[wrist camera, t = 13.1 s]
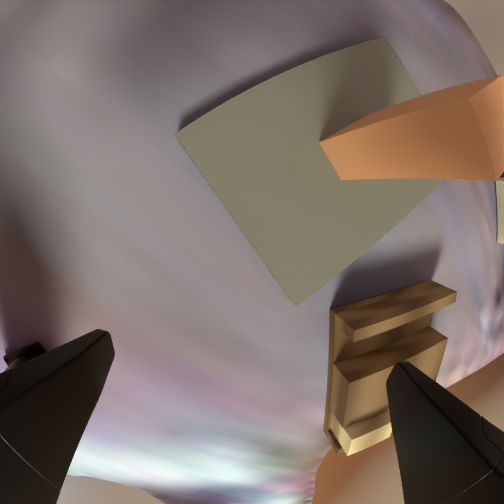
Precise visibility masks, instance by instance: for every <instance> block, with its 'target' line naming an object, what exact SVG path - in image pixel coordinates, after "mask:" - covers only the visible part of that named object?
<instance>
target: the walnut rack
mask: <svg viewBox="0 0 504 504" xmlns="http://www.w3.org/2000/svg"><path fill="white" fill-rule="evenodd" d="M456 295H457V292H456V291H454V290H452V289H450V288H447V287H445V286H443V285H440V284H438V283H436V282H434V281H431V280H427V281H424V282H421V283H418V284H415V285H412V286H409V287H406V288H403V289H399V290H396V291H393V292H390V293H386V294H383V295H379V296H376V297H372V298H369V299H365V300H362V301H358V302H354V303H351V304H347V305H343V306H339V307H335V308H331V309H330V333H329V364H328V382H327V397H326V410H325V421H324V432H325V434H326V436H327V437H328V439H329V441H330V443H331V444H332V446H333V448H334V449H335V451H336V453H337V454H339V453H342V452H345V451H344V450H343V448H342V446H341V445H340V443H339V441H338V440H337V438H336V436H335V435H334V433H333V432H332V430H331V428H330V426H331V418H332V413H333V414H334V416H335V417H336V419H337V420H338V422H339V423H340V425H341V426H342V428H344V427H346V426H349V425H351V424H354V423H356V422H359V421H361V420H364V419H366V418H368V417H371V416H373V415H375V414H377V413H379V412H382V411H384V410H386V409H388V408H389V405H388V398H387V390H386V381H387V378H388V376H389V374H390V373H391V371H392V369H393V367H394V365H395V364H396V363H397V362H399V361H408V362H410V363H411V364H413V365H414V366H415V367H417V368H418V369H419V370H421V371H422V372H423V373H425V374H426V375H427V376H429V377H430V378H431V379H433V380H434V381H436V378H437V375H438V372H439V368H440V365H441V362H442V358H443V355H444V351H445V347H446V344H447V340H448V338H447V337H446V336H444V335H442V334H441V333H439V332H438V331H436V330H434V329H433V328H431V327H430V321H431V315H432V312H434V311H437V310H439V309H441V308H443V307H445V306H447V305H450V304H452V303H454V302H455V301H456Z"/></svg>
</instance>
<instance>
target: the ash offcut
mask: <svg viewBox="0 0 504 504" xmlns="http://www.w3.org/2000/svg"><path fill="white" fill-rule="evenodd" d="M330 428H331V430H332V432H333V433H334V435H335V436H336V438H337V440H338V441H339V443H340V445H341V446H342V448H343V450H344V451H345V453H346V454H347V456H349V455H351V454H354V453H356V452H358V451H360V450H363V449H365V448H367V447H370V446H372V445H374V444H376V443H378V442H380V441H382V440H384V439H386V438H388V437H390V434H391V431H392V427H391V422H390V414H389V412H388V410H387V409H386V410H384V411H382V412H379V413H377V414H375V415H373V416H371V417H368V418H366V419H364V420H361V421H359V422H356V423H354V424H351V425H349V426H346V427H344V428H342V426H341V425H340V423H339V422H338V420H337V419H336V417H335V416H334V414H333V413H332V418H331V426H330Z"/></svg>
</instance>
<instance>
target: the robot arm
mask: <svg viewBox="0 0 504 504" xmlns="http://www.w3.org/2000/svg"><path fill="white" fill-rule="evenodd" d="M37 347H38V348H37ZM114 355H115V351H114V347H113V343H112V339H111V335H110V333H109V332H108V331H105V330H101V329H96V330H94V331H92V332H90V333H87V334H85V335H83V336H81V337H79V338H77V339H74V340H72V341H70V342H68V343H66V344H64V345H61V346H59V347H57V348H55V349H53V350H51V351H48V352H45V350H44V348H43V347H42V345H41V344H40V343H39V342H34V343H32V344H29V345H27V346H24V347H22V348H19V349H17V350H14V351H12V352H10V353H7V354H6V355H5V356H4V360H5V362H6V364H7V365H8V367H7V368H6V370H5V371H4V372H3V373H0V504H56V503H57V500H58V497H59V494H60V490H61V488H62V485H63V482H64V480H65V477H66V474H67V472H68V469H69V466H70V464H71V461H72V459H73V456H74V454H75V451H76V449H77V447H78V444H79V442H80V439H81V437H82V435H83V433H84V430H85V428H86V426H87V423H88V421H89V419H90V417H91V415H92V412H93V410H94V408H95V406H96V404H97V402H98V400H99V397H100V395H101V392H102V390H103V387H104V384H105V381H106V378H107V376H108V373H109V370H110V367H111V365H112V362H113V359H114ZM386 390H387V398H388V405H389V414H390V422H391V427H392V432H393V437H394V442H395V447H396V451H397V457H398V463H399V469H400V474H401V481H402V488H403V495H404V502H405V504H504V432H503V431H502V430H500V429H498V428H497V427H496V426H494V425H493V424H491V423H490V422H488V421H487V420H486V419H484V418H483V417H482V416H481V417H480V415H479V414H478V413H477V412H475V411H474V410H473V409H471V408H470V407H469V406H467V405H466V404H465V403H463V402H462V401H461V400H459V399H458V398H457V397H455V396H454V395H453V394H451V393H450V392H449V391H447V390H446V389H445V388H443V387H442V386H441V385H439V384H438V383H437V382H435V381H434V380H433V379H431V378H430V377H429V376H427V375H426V374H425V373H423V372H422V371H421V370H419V369H418V368H417V367H415V366H414V365H413V364H411V363H410V362H408V361H399V362H397V363H396V364H395V365H394V367H393V369H392V371H391V373H390V374H389V376H388V378H387V381H386Z"/></svg>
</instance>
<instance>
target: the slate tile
mask: <svg viewBox="0 0 504 504" xmlns="http://www.w3.org/2000/svg"><path fill="white" fill-rule="evenodd" d="M419 96H421V94H420V92H419V90H418V89H417V87H416V85H415V83H414V82H413V80H412V78H411V77H410V75H409V73H408V72H407V70H406V68H405V67H404V65H403V64H402V62H401V61H400V59H399V58H398V56H397V55H396V53H395V52H394V50H393V49H392V47H391V46H390V45H389V43H388V42H387V40H386V39H385V38H384V37H380V38H376V39H373V40H369V41H366V42H362V43H359V44H356V45H353V46H350V47H347V48H344V49H341V50H338V51H335V52H332V53H329V54H327V55H324V56H321V57H319V58H316V59H314V60H311V61H309V62H306V63H304V64H301V65H299V66H297V67H294V68H292V69H290V70H287V71H285V72H283V73H281V74H279V75H277V76H274V77H272V78H270V79H268V80H266V81H264V82H262V83H260V84H258V85H256V86H254V87H252V88H250V89H248V90H246V91H245V92H243V93H241V94H239V95H237V96H235V97H233V98H232V99H230V100H228V101H226V102H225V103H223V104H221V105H219V106H218V107H216V108H214V109H213V110H211V111H209V112H208V113H206V114H204V115H203V116H201V117H200V118H198V119H196V120H195V121H193V122H192V123H190V124H189V125H187V126H186V127H184V128H183V129H181V130H180V131H178V132H177V133H175V136H176V139H177V140H178V141H179V143H180V144H181V146H182V147H183V148H184V150H185V151H186V153H187V154H188V156H189V157H190V158H191V160H192V161H193V163H194V164H195V165H196V167H197V168H198V170H199V171H200V172H201V174H202V175H203V177H204V178H205V180H206V181H207V182H208V184H209V185H210V187H211V188H212V189H213V191H214V192H215V194H216V195H217V197H218V198H219V199H220V201H221V202H222V204H223V205H224V207H225V208H226V209H227V211H228V212H229V214H230V215H231V216H232V218H233V219H234V221H235V222H236V224H237V225H238V226H239V228H240V229H241V231H242V232H243V234H244V235H245V236H246V238H247V239H248V241H249V242H250V244H251V245H252V246H253V248H254V249H255V251H256V252H257V254H258V255H259V256H260V258H261V259H262V261H263V262H264V264H265V265H266V266H267V268H268V269H269V271H270V272H271V274H272V275H273V276H274V278H275V279H276V281H277V282H278V284H279V285H280V286H281V288H282V289H283V291H284V292H285V294H286V295H287V296H288V298H289V299H290V300H291V301H292V303H293V304H294V305H295V306H297V305H298V304H300V303H301V302H302V301H304V300H305V299H306V298H308V297H309V296H310V295H312V294H313V293H314V292H316V291H317V290H318V289H320V288H321V287H322V286H323V285H325V284H326V283H327V282H329V281H330V280H331V279H332V278H334V277H335V276H336V275H337V274H339V273H340V272H341V271H342V270H344V269H345V268H346V267H347V266H349V265H350V264H351V263H352V262H353V261H355V260H356V259H357V258H358V257H359V256H361V255H362V254H363V253H364V252H365V251H367V250H368V249H369V248H370V247H371V246H373V245H374V244H375V243H376V242H377V241H378V240H380V239H381V238H382V237H383V236H384V235H385V234H386V233H388V232H389V231H390V230H391V229H392V228H393V227H394V226H395V225H397V224H398V223H399V222H400V221H401V220H402V219H403V218H404V217H405V216H406V215H408V214H409V213H410V212H411V211H412V210H413V209H414V208H415V207H416V206H417V205H418V204H419V203H420V202H422V201H423V200H424V199H425V198H426V197H427V196H428V195H429V194H430V193H431V192H432V191H433V190H434V189H435V188H436V187H437V186H438V185H439V184H440V183H441V182H442V181H443V180H444V179H429V178H397V179H359V180H341V179H340V178H339V176H338V174H337V172H336V170H335V169H334V167H333V165H332V163H331V162H330V160H329V158H328V157H327V155H326V153H325V151H324V150H323V148H322V146H321V145H320V143H319V142H321V141H322V140H324V139H326V138H327V137H329V136H331V135H333V134H334V133H336V132H338V131H339V130H341V129H343V128H345V127H346V126H348V125H350V124H352V123H353V122H355V121H357V120H359V119H361V118H362V117H364V116H366V115H368V114H370V113H373V112H376V111H379V110H381V109H384V108H387V107H390V106H392V105H395V104H398V103H401V102H404V101H407V100H410V99H413V98H416V97H419Z"/></svg>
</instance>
